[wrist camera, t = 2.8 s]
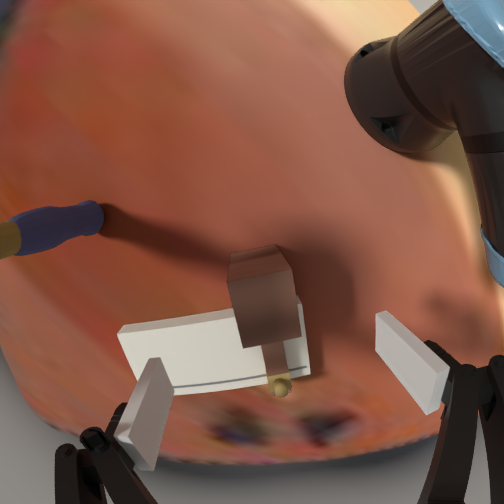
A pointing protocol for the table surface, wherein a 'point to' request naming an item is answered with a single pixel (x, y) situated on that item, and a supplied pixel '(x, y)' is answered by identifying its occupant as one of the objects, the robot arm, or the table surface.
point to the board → (206, 352)
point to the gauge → (265, 308)
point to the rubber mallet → (48, 228)
